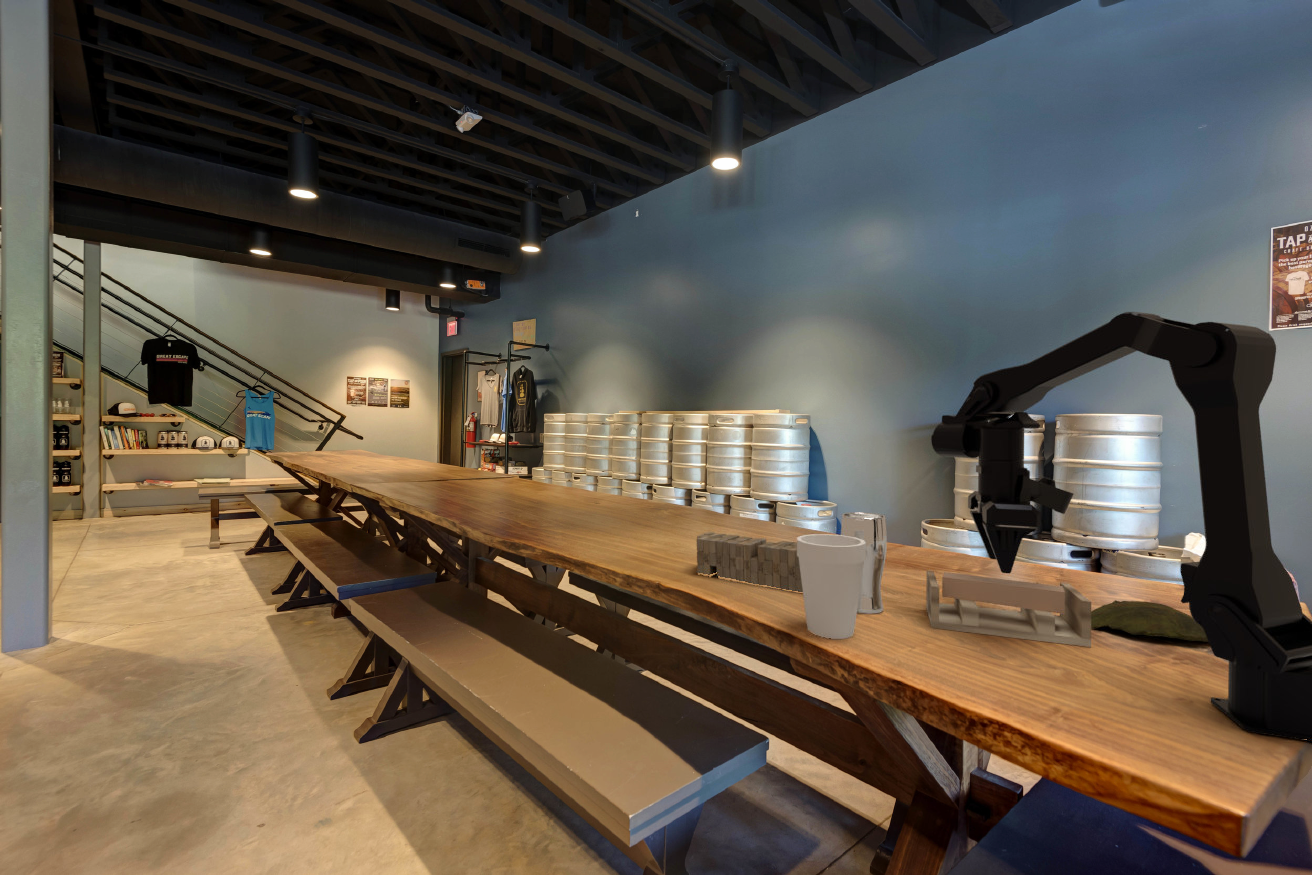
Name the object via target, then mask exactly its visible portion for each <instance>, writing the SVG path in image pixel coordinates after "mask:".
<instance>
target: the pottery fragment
mask: <svg viewBox="0 0 1312 875" xmlns="http://www.w3.org/2000/svg"><path fill="white" fill-rule="evenodd" d="M1102 627H1103V628H1104V627H1109V628H1110V629H1112V630H1120V631H1124V632H1126V633H1129V634H1131V635H1132V636H1135V635H1145V636H1146V637H1147V636H1148V637H1165V638H1166V637H1167V638H1170V639H1178V640H1183V641H1184V640H1185V641H1188V642H1194V641H1196V642H1204V643H1209V641H1208V639H1207V636H1206V634H1205V631H1204V629H1203V628H1202V627H1201V626H1200V625H1199V624H1197V623H1196V622H1195V621H1194V619H1193V617H1192V616H1191V615H1189V614H1187V613H1185V612H1182V611H1180V610H1178V609H1176V608H1174V607H1171V606H1169V605H1166V604H1162V603H1157V602H1152V601H1141V600H1140V601H1139V600H1135V601H1134V600H1132V601H1131V600H1120V601H1119V600H1116V599H1115V600H1114V601H1111V603H1107V604H1103V605H1101V606H1099V607H1097V608H1095V609H1094V610H1091V630H1098V629H1099V628H1102Z"/></svg>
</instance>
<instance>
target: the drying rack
mask: <svg viewBox="0 0 1312 875" xmlns="http://www.w3.org/2000/svg"><path fill="white" fill-rule="evenodd" d="M1059 586H1063V589H1064V592H1065V614H1061V613H1059V614H1058V615H1056V614H1054V613H1053V612H1046V611H1039V610H1032V609H1025V608H1020V611H1017V610H1008V609H1007V610H1006V609H1002V608H1001V609H1000V608H990V607H981V606H978V604H977V603H976V601H969V600H962V599H955V598H953V601H954V602H953V603H954V604H953V603H944V602H943V603H941V602H940V586H939V583H938V580H937V577H936V575H935V571H931V570H926V587H925V588H926V595H925V596H926V599H925V600H926V603H925V604H926V605H925V607H926V611H927V612H926V613H927V616H928V620H929V623H930V628H931V629H940V630H946V631H956V632H964V633H970V634H971V633H973V634H979V635H987V636H996V637H1003V638H1004V637H1005V638H1014V639H1020V640H1021V639H1022V640H1029V641H1036V642H1037V641H1039V642H1047V643H1055V644H1061V645H1071V646H1080V647H1087V648H1091V647H1092V629H1091V612H1092V601H1091V600H1090V599H1089V598H1087V597H1086V596H1085V595H1083V593H1081V592H1080V591H1078V590H1077V589H1076V588H1075V587H1074V586H1072V585H1071V584H1070V583H1069V582H1059Z"/></svg>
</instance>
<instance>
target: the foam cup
mask: <svg viewBox="0 0 1312 875" xmlns="http://www.w3.org/2000/svg"><path fill="white" fill-rule="evenodd" d="M796 542H797V557H799V565H800V573H801V581H802V589H803V594H802V595H803V603H804V611H805V620H806V621H805V622H806V626H807V631H808V630H809V631H811V632H812V633H814V634H816V635H819V636H821V637H820V638H823V637H825V638H824V639H829V638H831V640H844V639H850V638H851V637H852V636H854V631H855V627H856V621H857V615H858V613H857V608H858V601H859V594H860V587H861V580H862V573H863V566H864V561H865V560H866V542H865V541H864V540H862V539H859V538H855V537H849V536H843V535H841V534H831V533H830V534H827V533H825V534H824V533H823V534H822V533H812V534H804V535H800V536H797V537H796ZM809 631H808V632H809ZM816 635H815V636H816ZM819 636H818V637H819Z"/></svg>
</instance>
